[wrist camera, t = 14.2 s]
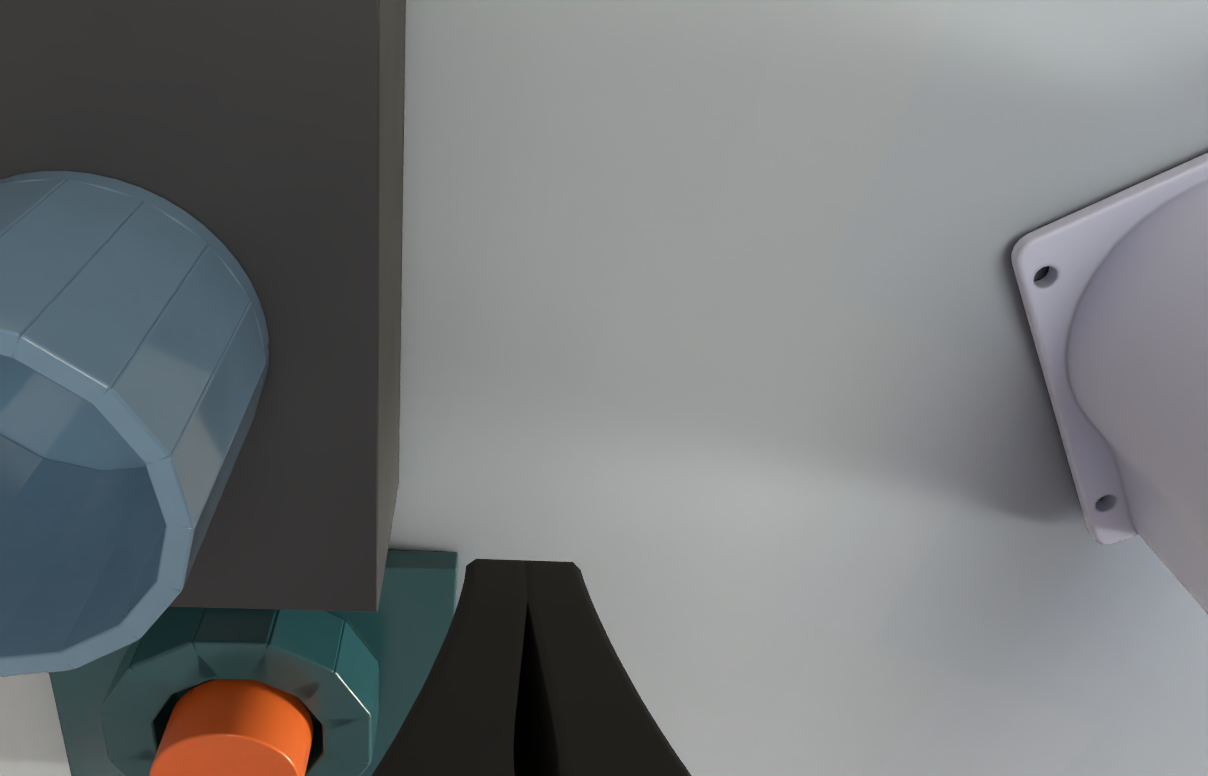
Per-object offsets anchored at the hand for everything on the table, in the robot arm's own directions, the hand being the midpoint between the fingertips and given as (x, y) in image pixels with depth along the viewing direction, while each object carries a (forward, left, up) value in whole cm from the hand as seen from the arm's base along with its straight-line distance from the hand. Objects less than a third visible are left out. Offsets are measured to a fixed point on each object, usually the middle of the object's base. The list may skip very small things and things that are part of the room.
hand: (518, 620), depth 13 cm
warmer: (+4, +6, -10) cm, 12 cm away
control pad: (-7, +11, -10) cm, 17 cm away
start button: (-6, +11, -8) cm, 15 cm away
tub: (+4, +6, -6) cm, 9 cm away
